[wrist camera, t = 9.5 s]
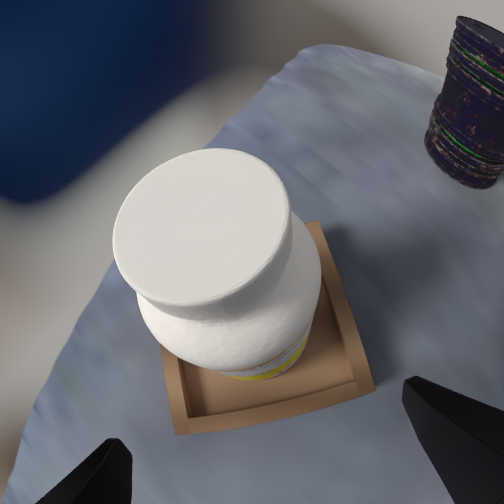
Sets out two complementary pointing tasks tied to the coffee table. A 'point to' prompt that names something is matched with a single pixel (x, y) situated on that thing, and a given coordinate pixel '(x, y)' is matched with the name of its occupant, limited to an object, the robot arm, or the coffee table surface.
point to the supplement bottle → (220, 263)
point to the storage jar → (470, 107)
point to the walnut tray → (286, 384)
